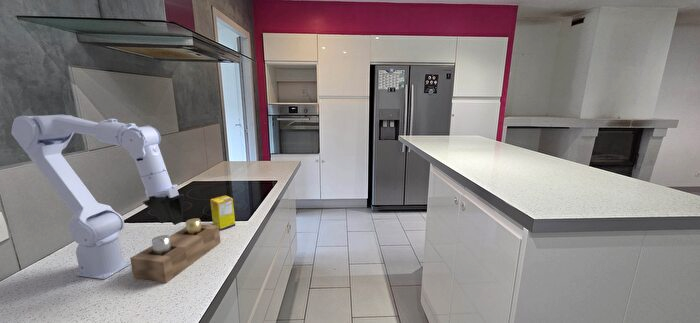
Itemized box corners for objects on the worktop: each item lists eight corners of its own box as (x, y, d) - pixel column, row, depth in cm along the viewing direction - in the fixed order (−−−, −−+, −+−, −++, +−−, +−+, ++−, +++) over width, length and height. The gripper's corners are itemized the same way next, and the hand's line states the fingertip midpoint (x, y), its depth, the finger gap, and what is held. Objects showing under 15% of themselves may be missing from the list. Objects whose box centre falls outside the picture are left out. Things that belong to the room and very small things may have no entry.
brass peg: (184, 239, 88) (182, 222, 87) (194, 233, 92) (192, 217, 91) (196, 240, 87) (194, 223, 86) (205, 234, 91) (203, 218, 90)
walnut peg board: (133, 278, 75) (130, 257, 74) (194, 240, 96) (192, 223, 95) (166, 283, 73) (162, 261, 72) (220, 242, 94) (218, 225, 93)
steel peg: (151, 260, 76) (148, 241, 75) (163, 252, 80) (160, 234, 79) (163, 261, 76) (160, 242, 74) (175, 253, 79) (172, 235, 78)
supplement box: (227, 221, 111) (225, 194, 109) (235, 225, 107) (233, 198, 105) (212, 226, 107) (209, 198, 104) (220, 231, 103) (217, 202, 101)
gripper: (183, 167, 71) (200, 216, 74) (159, 170, 80) (175, 214, 82) (152, 175, 66) (171, 229, 68) (129, 178, 74) (148, 226, 77)
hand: (171, 222), depth 75 cm, fingers open, 7 cm apart
